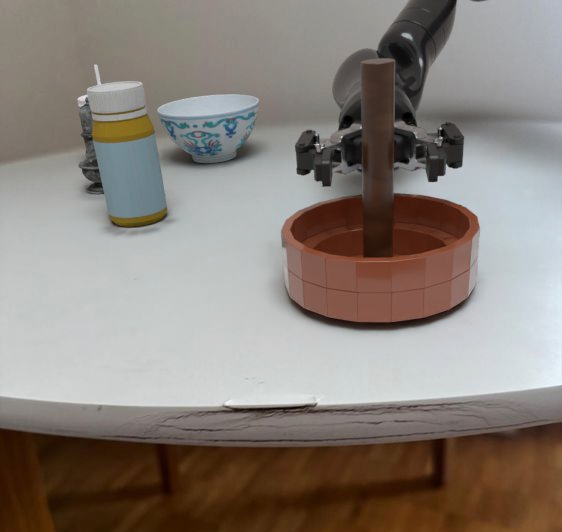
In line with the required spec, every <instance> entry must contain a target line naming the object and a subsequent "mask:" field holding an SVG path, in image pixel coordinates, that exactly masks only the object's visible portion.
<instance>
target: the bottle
mask: <svg viewBox="0 0 562 532" xmlns="http://www.w3.org/2000/svg"><path fill="white" fill-rule="evenodd" d="M86 95H87V96H88V100H89V105H90V109H91V111H92V118H93V129H92V137H93V143H94V148H95V153H96V157H97V162H98V167H99V172H100V176H101V181H102V186H103V190H104V194H103V196H104V201H105V205H106V209H107V213H108V217H109V219H110V220H111V221H112V222H113V223H115V224H116V225H117V226H120V227H127V228H131V227H133V228H135V227H144V226H148V225H152V224H154V223H158V222H159V221H161V220H162V219H163V218H164V217H165V216H166V214H167V212H168V204H167V197H166V192H165V185H164V184H165V183H164V180H163V174H162V168H161V160H160V157H159V156H160V155H159V149H158V144H157V136H156V131H155V126H154V124H153V122H152V120H151V118H150V116H149V114H148V106H147V99H146V93H145V88H144V85H143V82H141V81H137V80H135V81H134V80H128V81H125V80H123V81H113V82H107V83H101V84H100V85H98V84H96V85H93V86H89V87H87V88H86Z"/></svg>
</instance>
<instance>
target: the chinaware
mask: <svg viewBox="0 0 562 532" xmlns="http://www.w3.org/2000/svg"><path fill="white" fill-rule="evenodd" d="M259 108H260V100H259V98H258V97H256V96H253V95H248V94H238V93H237V94H235V93H234V94H233V93H229V94H228V93H227V94H223V93H222V94H211V95H209V94H207V95H200V96H192V97H187V98H182V99H177V100H174V101H170V102H167V103H165V104H162V105H160V106H159V107H158V108H157V109H156V111H157V114H158V118H159V120H160V122H161V126H162V127H163V129H164V131H165V133H166V134H167V136H168V137H169V138H170V139H171V141H172V142H173V143H174V144H175V145H176V146H177V147H179V148H180V149H181V150H183V151H184V152H186V153H188V154H190V155H191V158H192V160H193V162H195V163H200V164H216V163H222V162H223V163H224V162H227V161H230V160H233V159H234V158H236V156H237V150H238V149H239V148H240V147H242V146H243V145H244V143H246V142H247V140H248V139H249V137H250V136H251V134H252V132H253V130H254V128H255V125H256V122H257V118H258V115H259V114H258V113H259Z"/></svg>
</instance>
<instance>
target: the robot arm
mask: <svg viewBox="0 0 562 532" xmlns="http://www.w3.org/2000/svg"><path fill="white" fill-rule="evenodd" d="M469 1H470V2H474V3H483V2H487V1H489V0H469ZM457 4H458V0H408V1H407V2H406V4H405V5H404V7H403V8H402V9H401V11H400V12H399V13H398V15H397V16H396V17H395V19H394V20H393V22H392V23H391V24H390V25H389V26H388V28H387V29H386V31H384V33H383V35H382V36H381V38H380V40H379V42H378V45H377V47H376V49H375V48H371V47H364V48H360V49H358V50H356V51H354V52H352V53H351V54H349V55H348V56H347V57H345V59H344V60H343V61H342V62H341V64H340V65H339V67H338V69H336V73H335V74H334V78H333V81H332V87H331V91H332V98H333V100H334V102H335V104H336V105H337V107H338V108H339V110H340V112H339V116H338V122H337V123H338V128H337V131H335V132H333V133H332V134H330V136H329V138H328V137H325V138H320V133H316V130H314V129H306V130H304V131H302V132H301V134H300V136H299V138H298V139H297V141H296V142H295V144H294V152H295V159H296V161H295V162H296V169H295V170H296V175H298V176H306V175H310V174H311V172H312V171H313V179H314V182H317V183H318V182H321V187H322V188H325V187H327V188H328V187H330V188H331V187H332V183H333V175H334V174H340V175H347V174H349V173H352V172H354V171H355V172H356V171H357V172H358V173H361V174H362V126H361V62H362V61H364V60H369V59H379V58H389V59H394V60H395V123H394V172H396V171H398V170H399V169H403V170H406V171H409V172H415V171H420V170H424V171H425V173H426V178H427V182H428V183H437V182H438V179H439V177H444V176H445V175H446V174H447V168H449V169H453V170H455V169H456V170H457V169H460V168H463V165H464V163H463V162H464V148H465V136H464V134H463V133H462V132H461V130H460V129H459V128H458V126H457V125H456V124H455V123H453V122H450V121H447V122H444V123H441V124H440V126H439V127H437V132H427V130H426V128H424V127H420V126H418V122H417V113H418V110H419V109H420V105H421V101H422V98H423V95H424V90H425V85H426V81H427V78H428V75H429V71H430V68H431V67H432V66H433V64H434V63H435V61H436V60H437V59H438V57H439V56H440V54H441V52H442V51H443V50H444V48H445V46H446V45H447V43H448V41H449V40H450V36H451V35H452V31H453V29H454V26H455V21H456V14H457Z"/></svg>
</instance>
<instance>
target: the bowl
mask: <svg viewBox="0 0 562 532" xmlns="http://www.w3.org/2000/svg"><path fill="white" fill-rule="evenodd" d="M282 225H283V226H282V228H281V229H280V235H281V249H282V260H283V261H282V262H283V273H284V274H283V276H284V286H285V288H286V291H287V293H288V296H289V297H290V299H292V300H293V301H294V302H295V303H296V304H298V305H299V306H300V307H302V308H303V309H305V310H308V311H311V312H313V313H315V314H319V315H322V316H324V317H327V318H331V319H336V320H341V321H342V320H343V321H348V322H354V323H355V322H356V323H396V322H402V321H410V320H416V319H423V318H427V317H430V316H434V315H436V314H439V313H440V314H441V313H442V312H445V311H449V310H451V309H452V308H453V307H455V306H457V305H458V304H461V303H462V302H463V301H465V300H466V299H468V298H469V296H470V294H471V293H472V291H473V290H474V288H475V286H476V285H477V271H478V258H479V246H480V245H479V244H480V234H481V233H480V232H481V226H480V222H479V217H478V215H476V214H475V213H474V212H473V211H471V210H470V209H469V208H468V207H466V206H464V205H461V204H459V203H456V202H454V201H451V200H449V199H444V198H439V197H434V196H430V195H424V194H416V193H415V194H413V193H401V192H400V193H399V192H394V212H393V257H391V258H363V203H362V194H355V195H347V196H339V197H336V198H332V199H328V200H323V201H319V202H316V203H313V204H311V205H309V206H307V207H304V208H301V209H299V210H297V211H296V212H295V213H293V214H291V216H288V217H287V218H286V219H285V221H284V224H282Z"/></svg>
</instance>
